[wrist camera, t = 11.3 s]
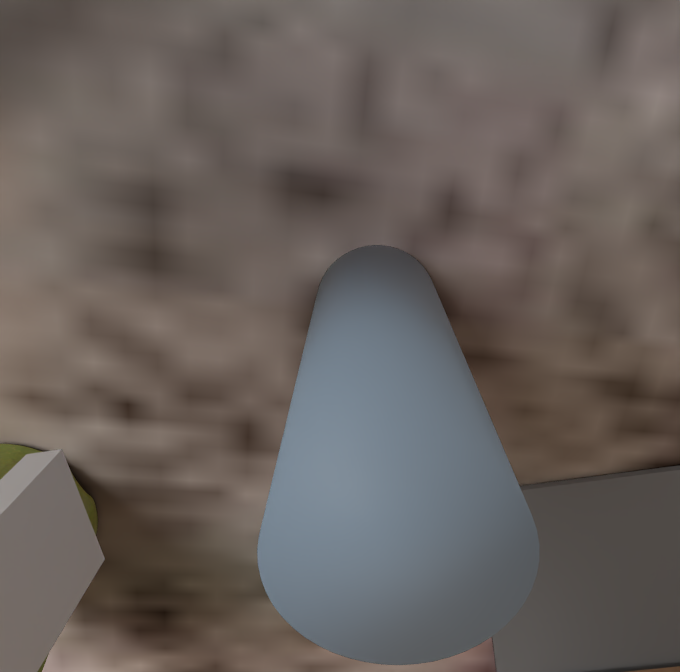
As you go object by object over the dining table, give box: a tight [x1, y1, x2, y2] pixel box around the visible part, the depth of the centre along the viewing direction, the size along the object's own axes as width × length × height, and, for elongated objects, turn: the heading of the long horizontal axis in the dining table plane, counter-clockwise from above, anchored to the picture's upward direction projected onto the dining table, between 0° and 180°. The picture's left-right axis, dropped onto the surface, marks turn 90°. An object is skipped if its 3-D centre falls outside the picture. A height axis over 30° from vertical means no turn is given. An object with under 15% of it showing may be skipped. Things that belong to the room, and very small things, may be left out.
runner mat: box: [492, 465, 680, 672], centre depth 25 cm, size 20×13×1 cm, turn 10°
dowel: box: [257, 245, 539, 665], centre depth 14 cm, size 4×4×12 cm
